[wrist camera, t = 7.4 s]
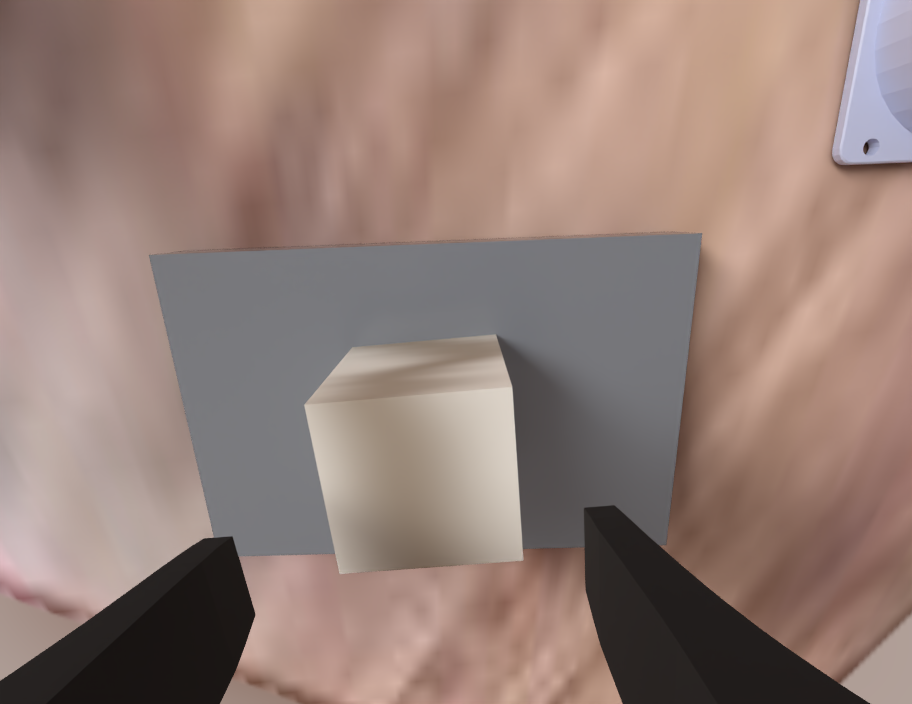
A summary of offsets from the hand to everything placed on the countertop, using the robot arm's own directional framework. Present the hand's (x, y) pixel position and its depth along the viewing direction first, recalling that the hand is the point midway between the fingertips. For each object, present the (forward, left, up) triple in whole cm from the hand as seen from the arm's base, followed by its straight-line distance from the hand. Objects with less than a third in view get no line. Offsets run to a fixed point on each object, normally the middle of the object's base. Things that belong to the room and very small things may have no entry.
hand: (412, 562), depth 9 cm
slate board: (0, 0, -9) cm, 9 cm away
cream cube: (0, 0, -7) cm, 7 cm away
